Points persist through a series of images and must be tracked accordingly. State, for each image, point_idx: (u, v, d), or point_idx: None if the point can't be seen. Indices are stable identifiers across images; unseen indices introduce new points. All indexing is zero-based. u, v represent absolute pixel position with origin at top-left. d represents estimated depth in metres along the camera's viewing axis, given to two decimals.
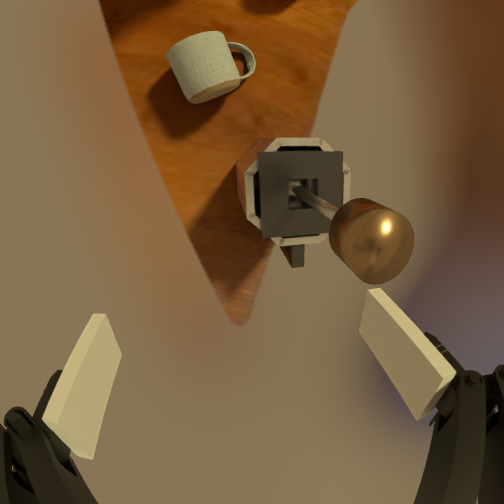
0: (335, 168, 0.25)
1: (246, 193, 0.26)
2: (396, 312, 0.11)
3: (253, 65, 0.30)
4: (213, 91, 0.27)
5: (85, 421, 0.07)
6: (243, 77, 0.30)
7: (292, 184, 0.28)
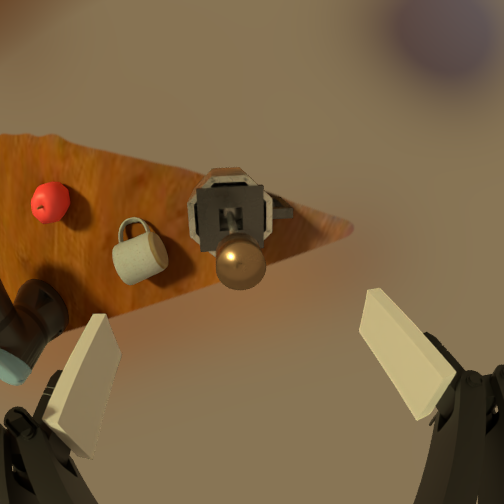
0: (210, 194, 0.33)
1: None
2: (396, 312, 0.11)
3: (135, 219, 0.45)
4: (158, 257, 0.43)
5: (85, 421, 0.07)
6: (146, 228, 0.45)
7: (225, 217, 0.37)
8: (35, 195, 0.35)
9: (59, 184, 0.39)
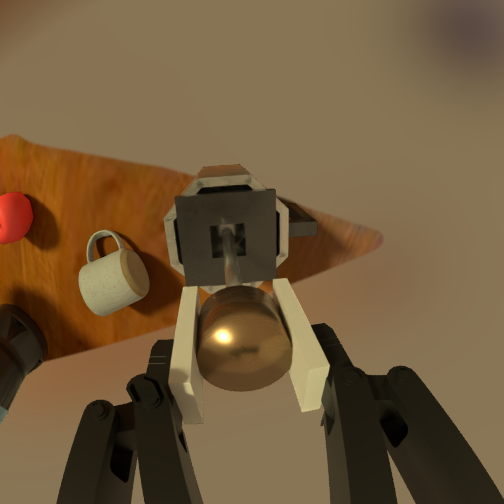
0: (196, 204, 0.22)
1: None
2: (290, 301, 0.12)
3: (105, 232, 0.34)
4: (134, 283, 0.31)
5: (198, 384, 0.10)
6: (118, 243, 0.33)
7: (220, 237, 0.26)
8: None
9: (19, 195, 0.28)
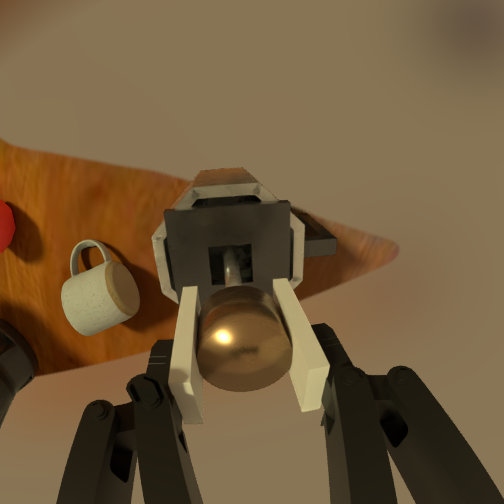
0: (190, 221, 0.18)
1: None
2: (290, 301, 0.12)
3: (90, 242, 0.29)
4: (121, 302, 0.27)
5: (198, 384, 0.10)
6: (104, 255, 0.29)
7: None
8: None
9: None
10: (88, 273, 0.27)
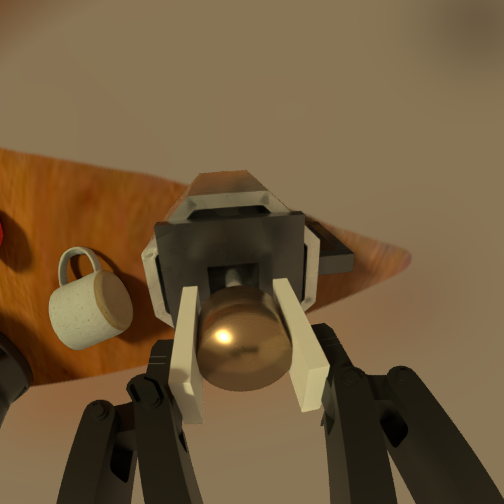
0: (186, 237, 0.15)
1: None
2: (290, 301, 0.12)
3: (78, 249, 0.26)
4: (112, 316, 0.24)
5: (198, 384, 0.10)
6: (93, 264, 0.26)
7: None
8: None
9: None
10: (76, 284, 0.24)
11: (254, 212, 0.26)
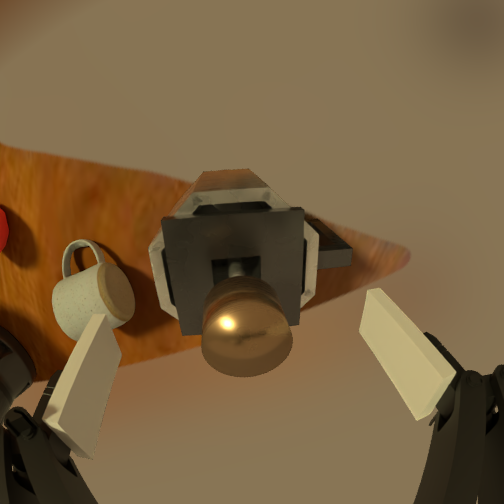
0: (191, 230, 0.16)
1: None
2: (396, 312, 0.11)
3: (82, 242, 0.27)
4: (114, 307, 0.25)
5: (85, 421, 0.07)
6: (97, 256, 0.27)
7: None
8: None
9: None
10: (80, 275, 0.25)
11: None
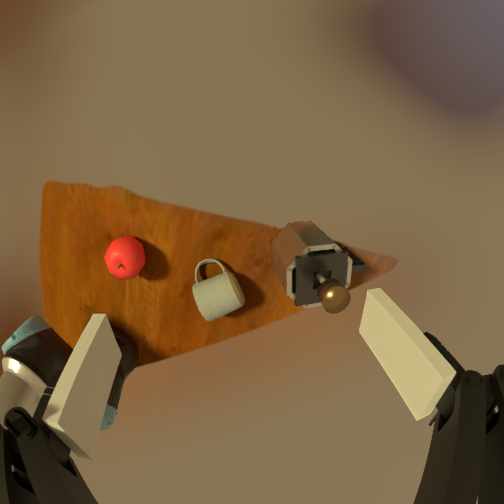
0: (307, 261, 0.40)
1: (317, 305, 0.45)
2: (396, 312, 0.11)
3: (211, 260, 0.51)
4: (240, 296, 0.49)
5: (85, 421, 0.07)
6: (223, 268, 0.51)
7: None
8: (111, 254, 0.43)
9: (133, 239, 0.47)
10: (214, 280, 0.50)
11: None
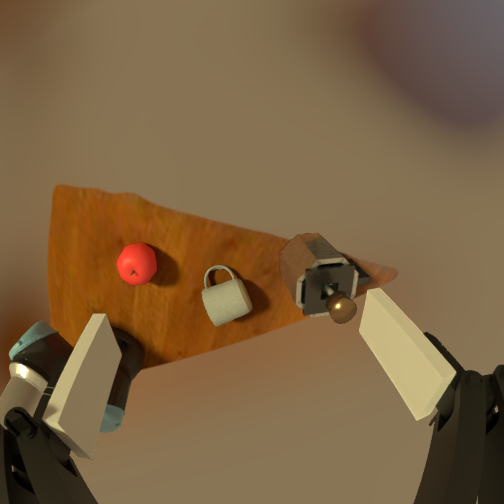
0: (317, 274, 0.42)
1: (323, 315, 0.46)
2: (396, 312, 0.11)
3: (221, 267, 0.52)
4: (249, 303, 0.50)
5: (85, 421, 0.07)
6: (232, 275, 0.52)
7: None
8: (124, 260, 0.44)
9: (145, 246, 0.48)
10: (223, 286, 0.51)
11: None
